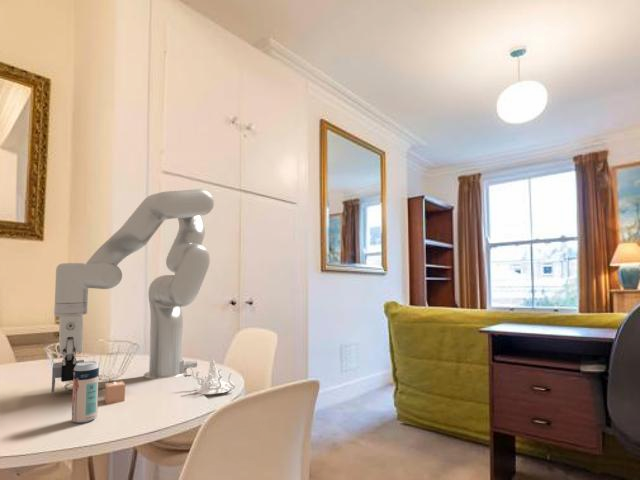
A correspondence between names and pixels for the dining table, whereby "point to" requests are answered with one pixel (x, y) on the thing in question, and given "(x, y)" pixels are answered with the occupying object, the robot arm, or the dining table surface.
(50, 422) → the dining table surface
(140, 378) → the dining table surface
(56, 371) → the cover
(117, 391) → the letter cube
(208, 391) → the tentacle sculpture
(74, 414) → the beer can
